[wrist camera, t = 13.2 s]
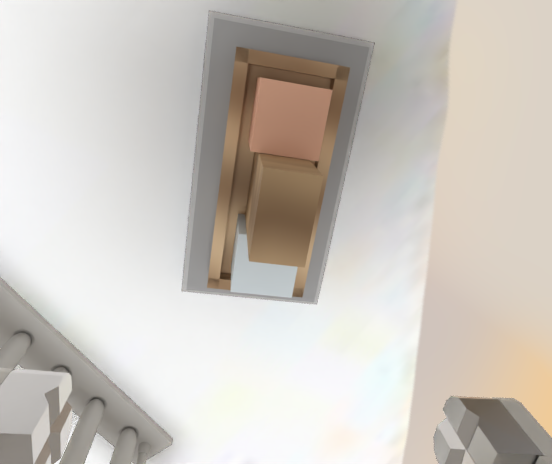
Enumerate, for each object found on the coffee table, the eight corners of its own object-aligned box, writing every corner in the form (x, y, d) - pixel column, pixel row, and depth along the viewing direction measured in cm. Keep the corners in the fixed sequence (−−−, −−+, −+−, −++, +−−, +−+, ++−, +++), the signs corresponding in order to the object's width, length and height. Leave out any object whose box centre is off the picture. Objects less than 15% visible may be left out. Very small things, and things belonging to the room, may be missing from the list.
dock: (211, 15, 29) (208, 9, 26) (363, 45, 31) (376, 42, 28) (184, 276, 36) (180, 293, 33) (311, 289, 37) (317, 307, 34)
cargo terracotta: (257, 77, 26) (260, 77, 23) (318, 87, 27) (332, 90, 23) (248, 141, 28) (250, 151, 24) (307, 150, 28) (318, 161, 25)
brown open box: (236, 48, 27) (237, 36, 18) (340, 68, 28) (389, 64, 19) (208, 272, 32) (199, 346, 24) (297, 282, 33) (320, 356, 25)
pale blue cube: (238, 213, 29) (238, 233, 26) (294, 220, 30) (302, 241, 26) (230, 265, 31) (230, 291, 27) (284, 271, 31) (291, 297, 28)
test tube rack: (-70, 278, 34) (-244, 396, 21) (-29, 248, 33) (-183, 351, 21) (138, 459, 42) (98, 618, 30) (173, 438, 42) (148, 590, 29)
